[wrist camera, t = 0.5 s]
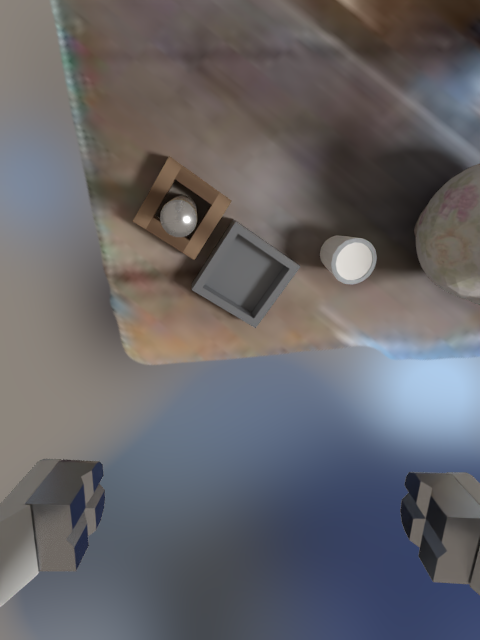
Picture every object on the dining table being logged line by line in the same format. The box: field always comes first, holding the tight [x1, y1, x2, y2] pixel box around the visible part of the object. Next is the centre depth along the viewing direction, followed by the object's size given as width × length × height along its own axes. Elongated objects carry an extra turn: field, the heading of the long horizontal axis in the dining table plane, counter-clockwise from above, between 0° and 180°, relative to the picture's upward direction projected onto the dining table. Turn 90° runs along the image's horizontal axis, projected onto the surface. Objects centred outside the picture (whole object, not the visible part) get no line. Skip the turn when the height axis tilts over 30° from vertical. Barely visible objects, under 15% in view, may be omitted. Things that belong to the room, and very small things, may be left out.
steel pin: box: [160, 195, 197, 237], centre depth 45 cm, size 4×4×14 cm
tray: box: [192, 219, 300, 328], centre depth 54 cm, size 12×12×4 cm
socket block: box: [133, 156, 231, 260], centre depth 50 cm, size 10×10×3 cm
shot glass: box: [320, 235, 377, 284], centre depth 53 cm, size 7×7×7 cm
